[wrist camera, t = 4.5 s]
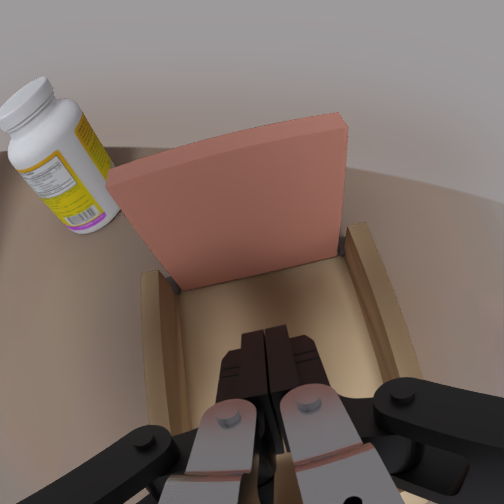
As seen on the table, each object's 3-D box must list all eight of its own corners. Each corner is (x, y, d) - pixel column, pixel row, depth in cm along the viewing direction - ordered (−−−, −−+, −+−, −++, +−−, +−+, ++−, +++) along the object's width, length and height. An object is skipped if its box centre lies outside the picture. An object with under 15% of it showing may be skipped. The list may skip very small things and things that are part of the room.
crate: (201, 524, 13) (171, 546, 9) (170, 294, 21) (141, 260, 17) (416, 480, 12) (448, 492, 9) (351, 252, 20) (359, 209, 16)
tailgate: (183, 291, 18) (105, 187, 11) (181, 270, 19) (109, 162, 12) (336, 256, 18) (348, 127, 10) (329, 236, 19) (334, 106, 11)
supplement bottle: (102, 172, 29) (40, 68, 18) (143, 189, 26) (74, 64, 16) (57, 222, 27) (-23, 125, 16) (93, 249, 24) (-5, 134, 13)
